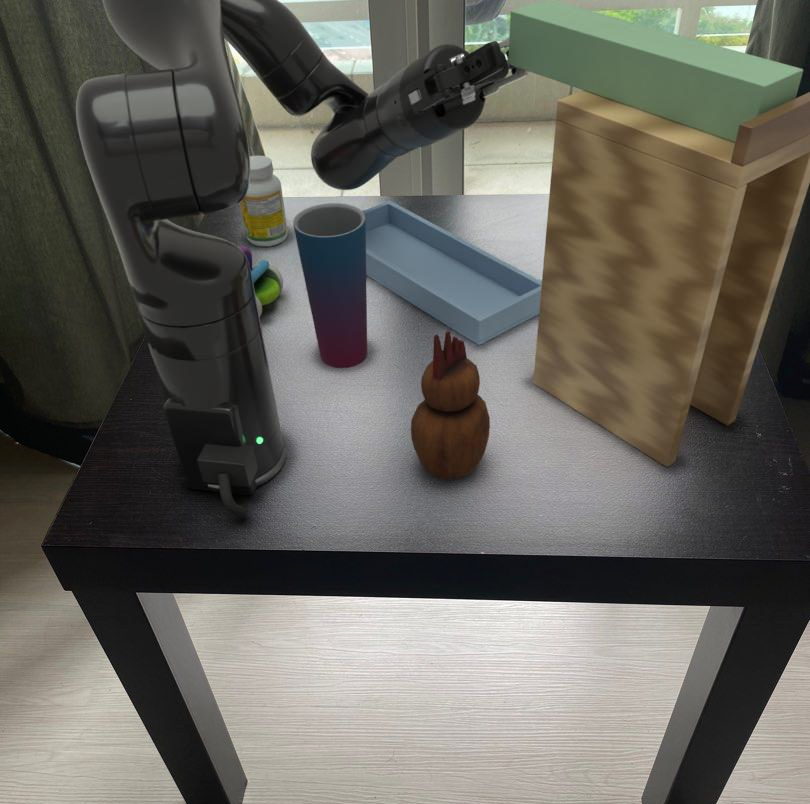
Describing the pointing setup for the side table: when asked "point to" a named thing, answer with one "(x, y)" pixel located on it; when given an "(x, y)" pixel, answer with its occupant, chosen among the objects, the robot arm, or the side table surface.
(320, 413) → the side table surface
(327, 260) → the cup
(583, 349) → the stand
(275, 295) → the multicolored plastic toy
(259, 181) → the supplement bottle
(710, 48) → the long sage green bar
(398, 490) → the side table surface
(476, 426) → the wooden figurine
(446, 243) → the tray
